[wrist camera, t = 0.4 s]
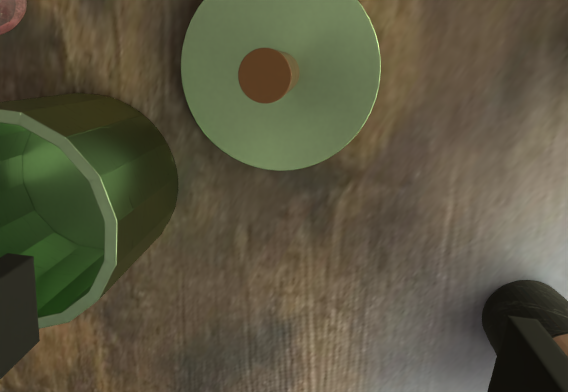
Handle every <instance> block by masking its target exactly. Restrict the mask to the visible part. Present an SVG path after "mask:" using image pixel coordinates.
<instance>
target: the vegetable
mask: <svg viewBox="0 0 568 392" xmlns="http://www.w3.org/2000/svg"><path fill="white" fill-rule="evenodd" d="M26 8H27V0H0V35H1V34H4V33H6V32H8V31H10V30H12V29H13V28H14V27H15V26H16V25H17V24H18V23H19V22H20V21H21V20H22V18H23V16H24V14H25V12H26Z"/></svg>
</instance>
